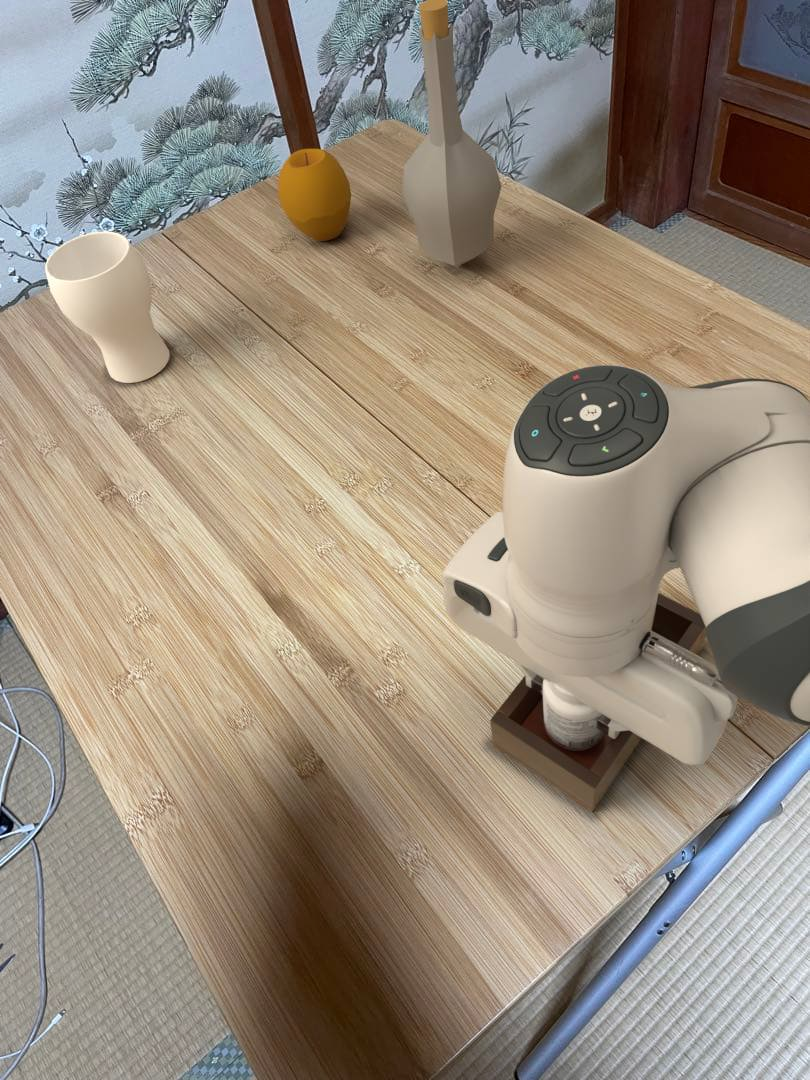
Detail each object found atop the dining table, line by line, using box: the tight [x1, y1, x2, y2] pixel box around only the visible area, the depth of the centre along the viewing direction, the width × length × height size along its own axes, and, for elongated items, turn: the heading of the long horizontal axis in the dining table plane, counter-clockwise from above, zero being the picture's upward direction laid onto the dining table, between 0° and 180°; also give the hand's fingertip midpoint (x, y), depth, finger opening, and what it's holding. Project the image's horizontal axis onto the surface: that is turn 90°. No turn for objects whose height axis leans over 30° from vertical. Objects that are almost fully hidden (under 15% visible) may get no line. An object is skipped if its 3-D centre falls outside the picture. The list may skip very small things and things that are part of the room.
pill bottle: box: [543, 679, 604, 751], centre depth 61 cm, size 5×5×8 cm
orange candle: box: [277, 148, 352, 242], centre depth 111 cm, size 10×10×12 cm
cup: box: [44, 231, 171, 384], centre depth 97 cm, size 11×11×15 cm
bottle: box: [401, 0, 503, 269], centre depth 95 cm, size 11×11×30 cm
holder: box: [489, 592, 706, 813], centre depth 66 cm, size 17×9×5 cm, turn 141°
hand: (574, 704), depth 62 cm, fingers closed on pill bottle, 5 cm apart
